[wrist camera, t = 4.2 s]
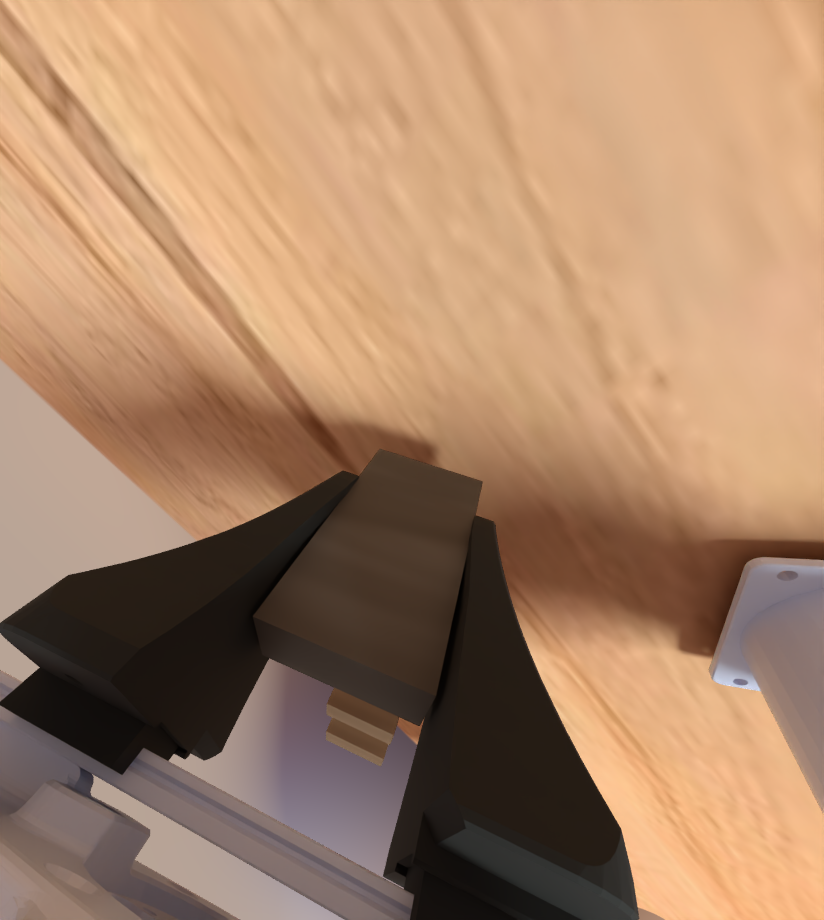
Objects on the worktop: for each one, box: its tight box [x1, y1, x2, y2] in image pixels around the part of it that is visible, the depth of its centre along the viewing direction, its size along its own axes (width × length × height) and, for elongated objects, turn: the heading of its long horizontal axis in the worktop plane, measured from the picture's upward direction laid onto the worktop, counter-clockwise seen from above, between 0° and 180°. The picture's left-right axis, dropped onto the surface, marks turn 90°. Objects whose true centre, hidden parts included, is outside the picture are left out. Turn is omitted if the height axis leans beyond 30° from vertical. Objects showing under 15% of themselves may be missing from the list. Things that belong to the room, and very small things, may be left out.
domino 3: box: [326, 717, 388, 766], centre depth 24 cm, size 2×4×7 cm, turn 80°
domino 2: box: [327, 688, 399, 745], centre depth 21 cm, size 2×4×7 cm, turn 80°
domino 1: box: [253, 449, 482, 726], centre depth 10 cm, size 2×4×7 cm, turn 81°
